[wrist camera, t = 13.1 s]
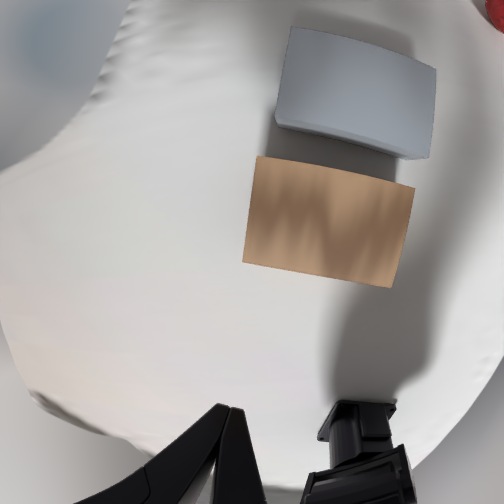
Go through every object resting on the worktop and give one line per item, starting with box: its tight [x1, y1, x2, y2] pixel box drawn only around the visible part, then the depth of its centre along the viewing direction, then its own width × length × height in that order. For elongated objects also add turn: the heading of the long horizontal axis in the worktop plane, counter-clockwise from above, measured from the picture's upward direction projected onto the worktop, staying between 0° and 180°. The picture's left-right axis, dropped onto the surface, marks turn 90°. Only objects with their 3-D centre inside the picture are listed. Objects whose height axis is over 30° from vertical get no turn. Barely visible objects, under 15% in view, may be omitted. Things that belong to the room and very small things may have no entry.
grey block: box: [274, 27, 436, 160], centre depth 14 cm, size 6×4×9 cm
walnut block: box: [242, 156, 415, 288], centre depth 17 cm, size 6×4×9 cm
